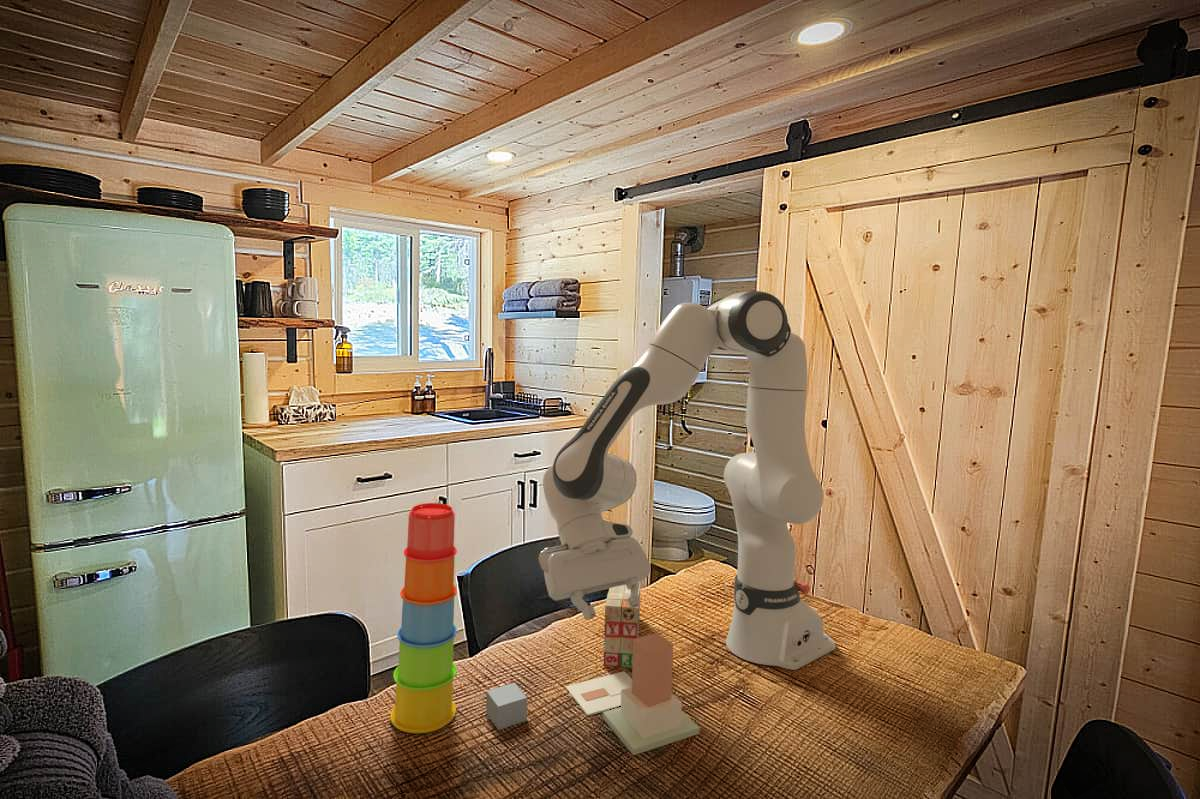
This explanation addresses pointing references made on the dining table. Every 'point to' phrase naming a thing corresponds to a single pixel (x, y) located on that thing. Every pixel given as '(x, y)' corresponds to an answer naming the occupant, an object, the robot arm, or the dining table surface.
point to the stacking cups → (427, 623)
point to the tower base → (650, 741)
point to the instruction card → (600, 692)
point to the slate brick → (506, 705)
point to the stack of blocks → (620, 627)
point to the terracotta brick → (652, 669)
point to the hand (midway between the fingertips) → (613, 611)
